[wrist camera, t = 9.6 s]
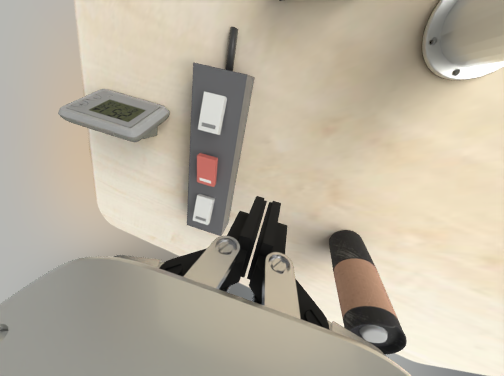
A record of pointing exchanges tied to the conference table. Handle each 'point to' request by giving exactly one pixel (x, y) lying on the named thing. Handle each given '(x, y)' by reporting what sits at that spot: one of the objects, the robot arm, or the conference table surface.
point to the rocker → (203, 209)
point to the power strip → (218, 136)
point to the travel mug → (363, 294)
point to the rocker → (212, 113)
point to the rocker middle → (207, 169)
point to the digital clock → (116, 114)
